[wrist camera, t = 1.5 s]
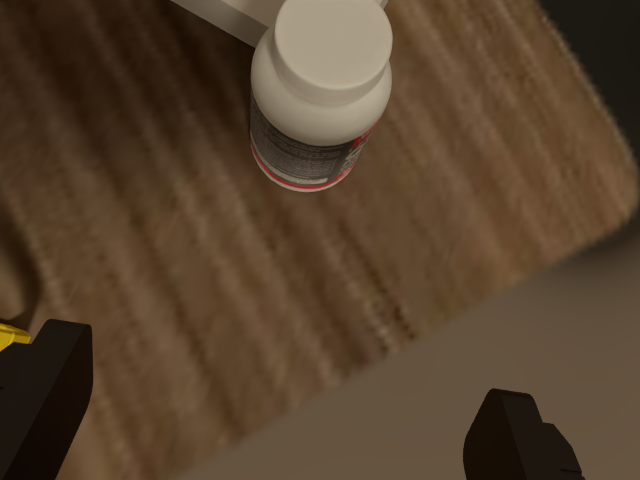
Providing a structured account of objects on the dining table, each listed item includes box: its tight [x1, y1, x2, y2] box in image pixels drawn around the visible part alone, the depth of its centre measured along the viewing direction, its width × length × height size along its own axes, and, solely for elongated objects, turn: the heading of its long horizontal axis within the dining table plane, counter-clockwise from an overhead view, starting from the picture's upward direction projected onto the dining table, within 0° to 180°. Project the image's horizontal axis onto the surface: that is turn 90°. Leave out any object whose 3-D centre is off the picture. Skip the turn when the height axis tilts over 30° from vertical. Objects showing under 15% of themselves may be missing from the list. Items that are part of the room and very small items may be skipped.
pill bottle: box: [250, 0, 393, 192], centre depth 24 cm, size 5×5×10 cm
